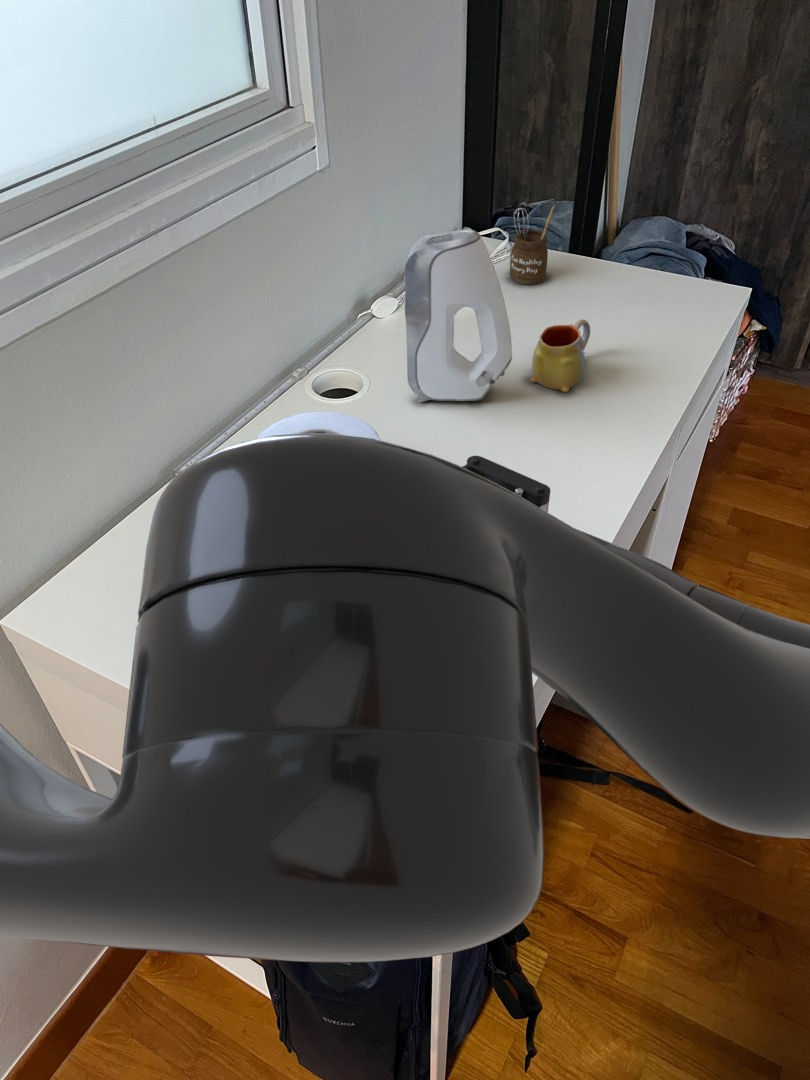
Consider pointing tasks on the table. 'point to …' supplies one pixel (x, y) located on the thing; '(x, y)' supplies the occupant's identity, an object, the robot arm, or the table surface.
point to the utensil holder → (529, 255)
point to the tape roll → (321, 425)
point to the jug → (430, 306)
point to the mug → (560, 356)
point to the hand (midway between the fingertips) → (351, 502)
